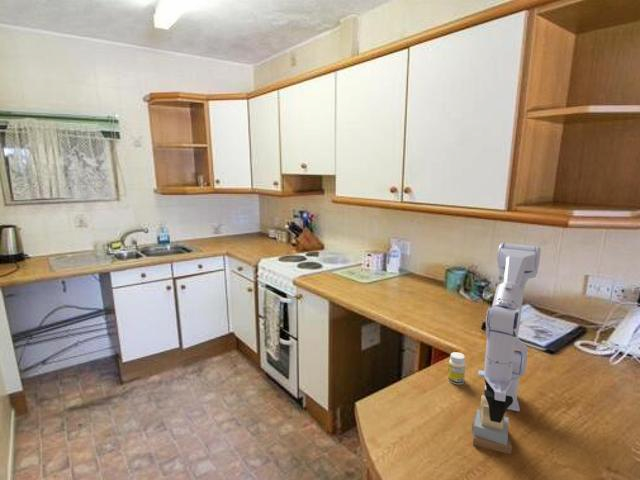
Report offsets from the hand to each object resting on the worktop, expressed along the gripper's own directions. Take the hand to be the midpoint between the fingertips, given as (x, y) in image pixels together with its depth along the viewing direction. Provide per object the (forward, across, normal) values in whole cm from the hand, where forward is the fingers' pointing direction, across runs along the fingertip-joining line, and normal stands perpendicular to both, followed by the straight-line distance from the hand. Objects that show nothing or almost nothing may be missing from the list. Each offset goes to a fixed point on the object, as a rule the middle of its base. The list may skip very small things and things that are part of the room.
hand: (493, 410), depth 86 cm
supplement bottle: (+8, -23, -8) cm, 26 cm away
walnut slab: (+8, 0, 0) cm, 8 cm away
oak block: (+3, 0, 0) cm, 3 cm away
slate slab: (+6, 0, 0) cm, 6 cm away
